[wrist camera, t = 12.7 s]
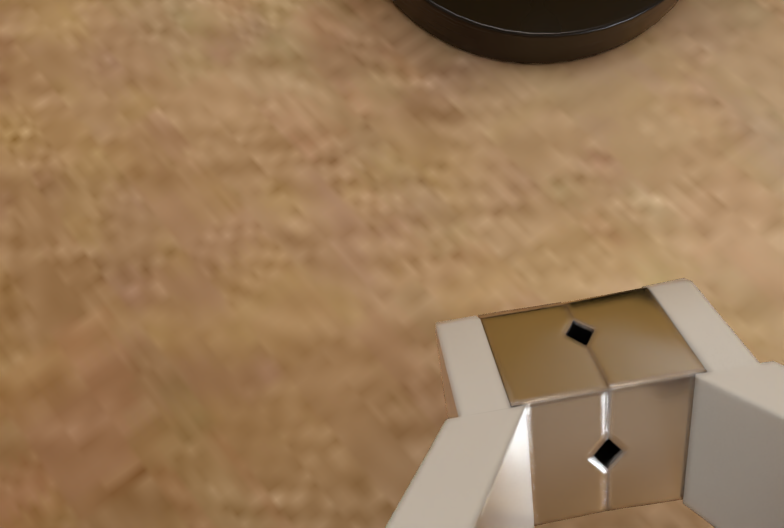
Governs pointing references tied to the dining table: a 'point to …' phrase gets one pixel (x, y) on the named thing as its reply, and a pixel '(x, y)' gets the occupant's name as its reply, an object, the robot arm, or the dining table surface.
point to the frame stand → (535, 25)
